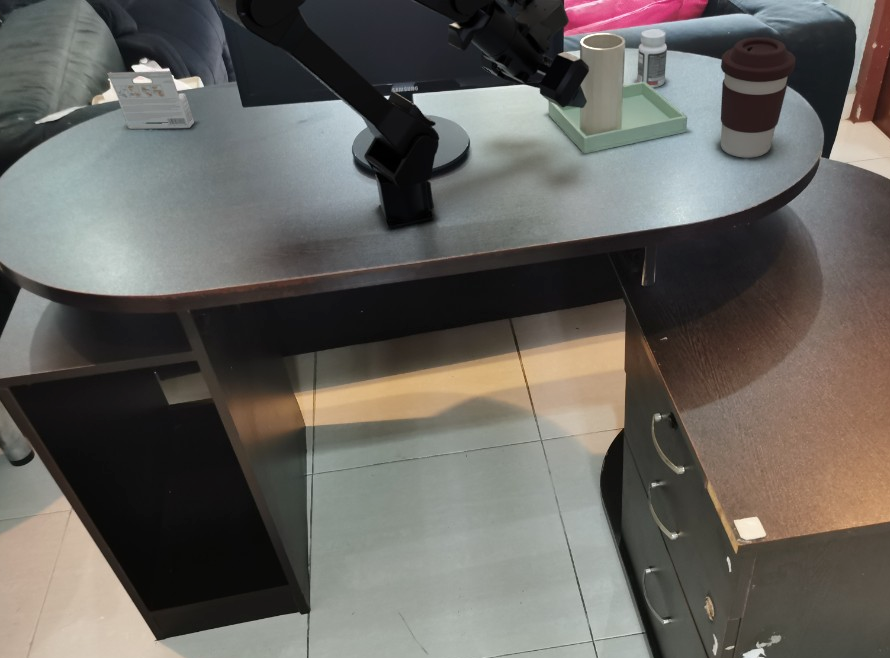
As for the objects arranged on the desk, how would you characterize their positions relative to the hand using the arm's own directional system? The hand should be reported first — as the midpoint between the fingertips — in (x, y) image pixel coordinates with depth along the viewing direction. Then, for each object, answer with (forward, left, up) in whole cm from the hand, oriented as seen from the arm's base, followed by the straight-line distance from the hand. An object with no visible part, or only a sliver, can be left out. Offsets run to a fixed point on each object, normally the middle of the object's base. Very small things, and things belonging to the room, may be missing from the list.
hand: (563, 94), depth 121 cm
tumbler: (+7, +2, -8) cm, 11 cm away
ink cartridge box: (-59, +37, -9) cm, 70 cm away
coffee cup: (+25, -11, -9) cm, 29 cm away
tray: (+11, +5, -9) cm, 15 cm away
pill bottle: (+23, +17, -9) cm, 30 cm away
